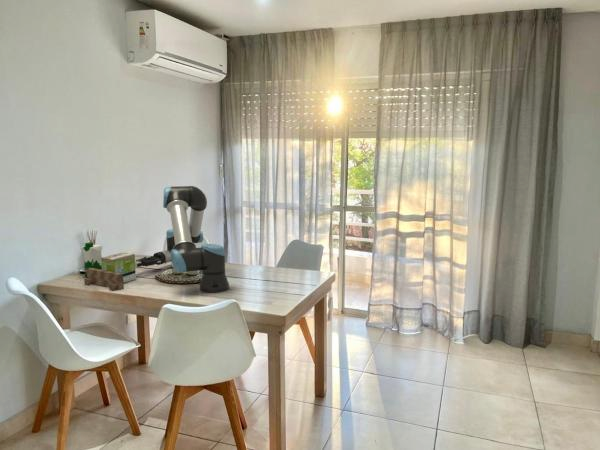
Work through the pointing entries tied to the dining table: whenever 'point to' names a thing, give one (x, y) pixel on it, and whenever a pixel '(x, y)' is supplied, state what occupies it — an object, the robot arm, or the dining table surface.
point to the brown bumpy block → (104, 279)
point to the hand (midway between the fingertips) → (130, 266)
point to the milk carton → (92, 256)
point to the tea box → (120, 265)
